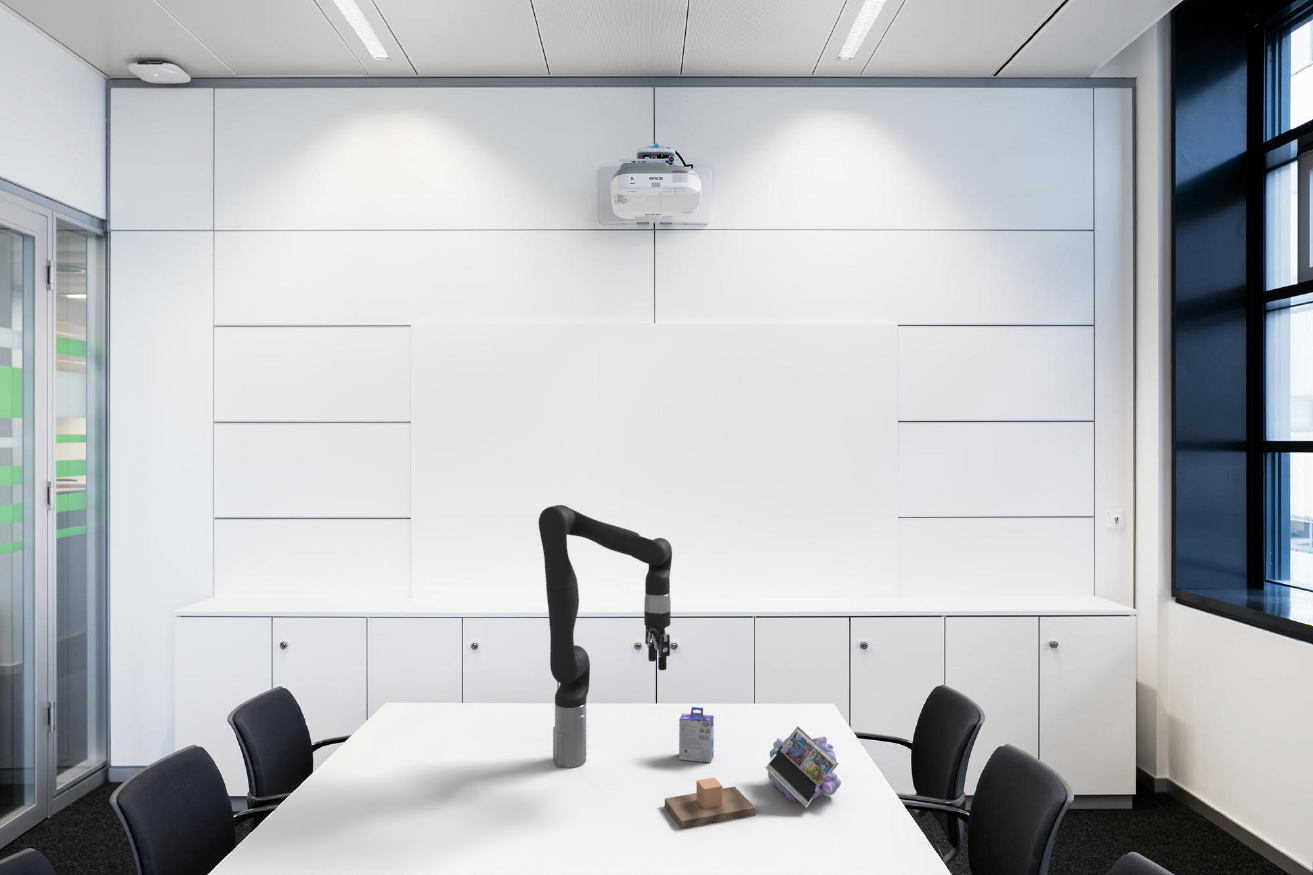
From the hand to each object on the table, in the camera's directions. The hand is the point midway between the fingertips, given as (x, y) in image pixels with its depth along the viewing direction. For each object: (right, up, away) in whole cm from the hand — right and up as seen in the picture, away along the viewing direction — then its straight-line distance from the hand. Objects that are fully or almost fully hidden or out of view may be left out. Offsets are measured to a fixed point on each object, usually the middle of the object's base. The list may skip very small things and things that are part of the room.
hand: (657, 665), depth 213 cm
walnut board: (+13, -30, -23) cm, 40 cm away
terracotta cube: (+13, -28, -23) cm, 38 cm away
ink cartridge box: (+12, -30, +9) cm, 34 cm away
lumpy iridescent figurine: (+39, -31, -12) cm, 51 cm away
